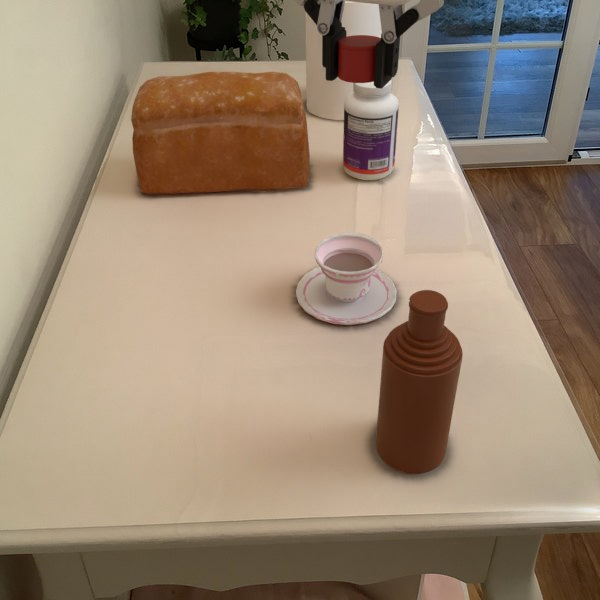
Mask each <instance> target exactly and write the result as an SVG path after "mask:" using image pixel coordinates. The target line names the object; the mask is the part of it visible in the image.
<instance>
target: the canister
mask: <svg viewBox="0 0 600 600" xmlns="http://www.w3.org/2000/svg"><path fill="white" fill-rule="evenodd" d="M304 11H305V10H304ZM304 13H305V15H304V16H305V81H306V82H305V86H306V87H305V88H306V93H305V95H306V109H307V111H308V113H310V114H312V115H314V116H316V117H319V118H322V119H325V120H326V119H327V120H332V121H344V103H345V100H346V98H347V97H348V96H349V95H350V94H351V93H353V92H354V91H353V83H351V82H345V81H343V80H341V79H339V77H337V78H336V79H335V80H333V81H327V80H326V68H325V67H323V65H322V35H321V34H319V33H318V31H317V25H316V24H315V23H314V21H313V20H312V19H311V18H310V16H309V15H308V14H307V12H306V11H305V12H304ZM341 23H342V27H345V30H346V32H347V33H346V37H347V36H354V35H369V36H376V37H379V38H381V34H382V29H381V21H380V12H379V4H371V3H361V2H351V1H345V4H344V10H343V15H342V20H341Z"/></svg>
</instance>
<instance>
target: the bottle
mask: <svg viewBox="0 0 600 600" xmlns="http://www.w3.org/2000/svg"><path fill="white" fill-rule="evenodd" d="M408 300H409V302H408V308H409V310H408V317H407V318H408V319H407V321H405V322H402V323H401V324H399V325H397V326H396V327H394V328H392V329H391V330H390V332H389V333H388V335H387V336H386V337H385V339H384V342H383V345H382V356H381V357H382V358H381V368H380V369H381V371H380V383H379V397H378V407H377V408H378V409H377V420H376V421H377V423H376V434H375V435H376V437H375V449H376V452H377V454H378V456H379V457H380V459H381V460H382V461H383V462H384V463H385V464H386V465H387V466H389V467H390V468H392V469H393V470H395V471H397V472H401V473H405V474H409V475H410V474H411V475H412V474H413V475H417V474H424V473H428V472H430V471H432V470H434V469H437V467H439V466H440V465H441V464H442V462H443V460H444V459H445V457H446V454H447V453H446V452H447V446H448V441H449V435H450V429H451V424H452V418H453V414H454V413H453V412H454V406H455V401H456V396H457V390H458V384H459V379H460V373H461V367H462V363H463V362H462V361H463V358H464V357H463V355H464V354H463V348H462V345H461V342H460V340H459V338H458V337H457V336H456V335H455V334H454V333H453V332H452V331H451V330H450V329H449V328H448V327H447V326H446V325H445V322H446V314H447V311H448V308H449V302H448V300H447V298H446V296H445V295H444V294H442V293H440V292H439V291H436V290H432V289H422V290H417V291H416V292H414V293H412V294H411V295H410V296H409V299H408Z"/></svg>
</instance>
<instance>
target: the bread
mask: <svg viewBox="0 0 600 600" xmlns="http://www.w3.org/2000/svg"><path fill="white" fill-rule="evenodd" d="M300 88H301V87H300V85H299V82H298V81H297V80H296V79H295V78H294V77H293V76H292V75H290V74H289V73H286V72H278V71H264V72H242V71H241V72H239V71H205V72H199V73H191V74H185V75H168V76H167V75H165V76H164V75H163V76H157V77H154V78H150V79H147V80H146V81H145V82H144V83H142V84H141V86H139V88H138V91H137V94H136V95H135V98H134V101H133V105H132V108H131V110H132V111H131V117H130V121H131V125H132V128H133V131H132V137H131V138H132V139H131V140H132V141H131V142H132V155H133V161H134V166H135V167H134V168H135V173H136V179H137V183H138V188H139V190H140V191H141V193H143V194H146V195H171V194H172V195H173V194H174V195H175V194H197V193H198V194H199V193H200V194H201V193H222V192H232V191H234V192H235V191H263V190H264V191H267V190H269V191H270V190H282V189H283V190H284V189H294V188H304V187H306V186H308V185H309V183H310V145H309V144H310V143H309V132H308V121H307V115H306V111H305V107H304V100H303V98H302V91H301V89H300Z"/></svg>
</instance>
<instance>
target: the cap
mask: <svg viewBox="0 0 600 600" xmlns="http://www.w3.org/2000/svg"><path fill="white" fill-rule="evenodd" d="M380 40H381V38H379V37H376V36H369V35H354V36H347V37H343V38H341V39H340V40H339V41H338V77H339V79H341V80H343V81H345V82H351V83H369V82H374V70H375V51H376V44H377V43H378V42H379V41H380Z"/></svg>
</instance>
